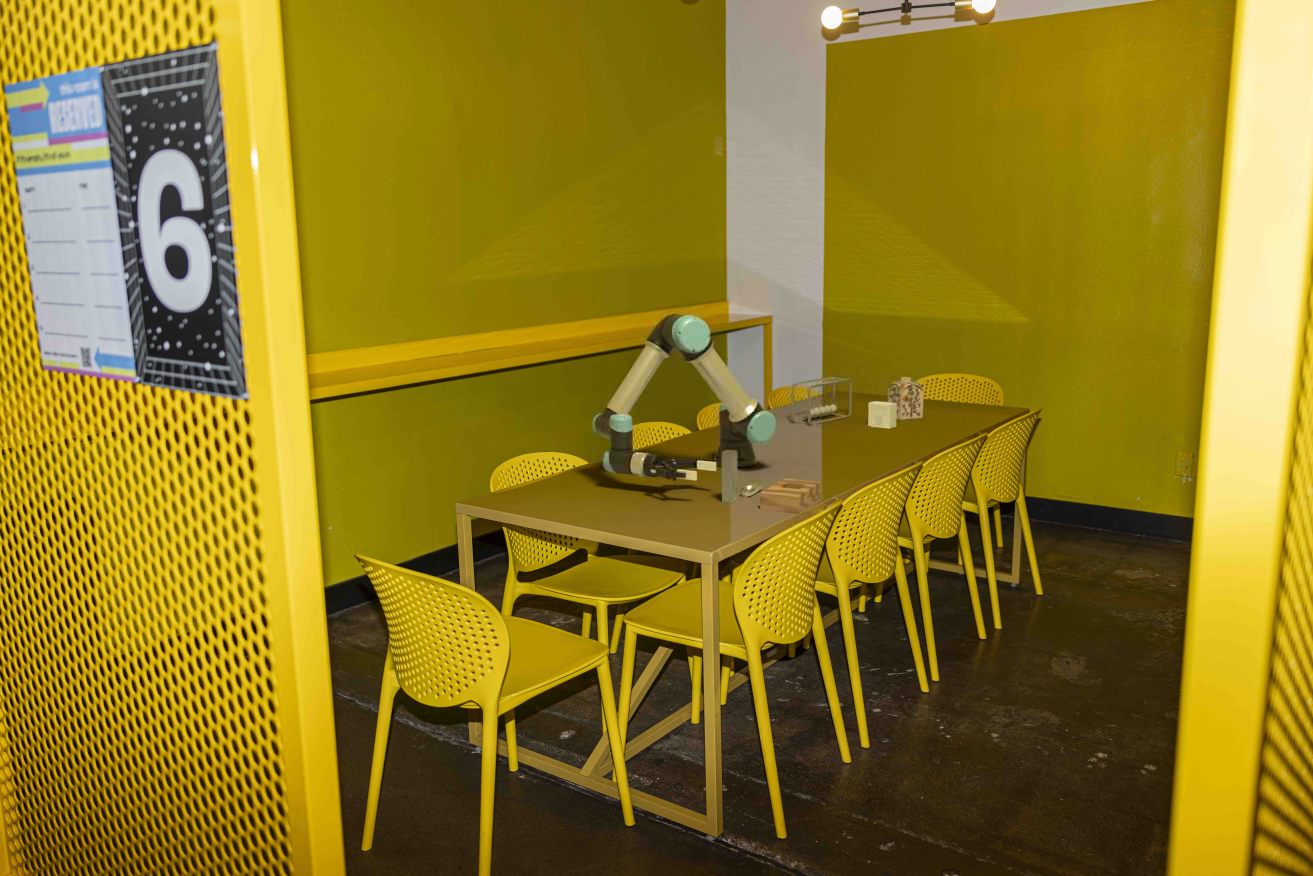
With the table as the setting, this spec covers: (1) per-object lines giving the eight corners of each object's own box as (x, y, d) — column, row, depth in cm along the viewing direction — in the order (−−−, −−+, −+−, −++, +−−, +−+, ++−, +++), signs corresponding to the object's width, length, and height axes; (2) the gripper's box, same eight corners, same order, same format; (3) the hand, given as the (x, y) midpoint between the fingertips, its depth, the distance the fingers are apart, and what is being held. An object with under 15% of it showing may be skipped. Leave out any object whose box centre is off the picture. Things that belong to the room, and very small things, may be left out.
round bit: (765, 487, 318) (757, 492, 320) (759, 477, 318) (751, 482, 320) (753, 494, 309) (744, 499, 311) (747, 484, 310) (738, 489, 312)
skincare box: (896, 426, 418) (897, 402, 416) (889, 429, 413) (890, 404, 411) (874, 424, 425) (875, 400, 423) (867, 426, 420) (868, 402, 418)
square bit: (727, 499, 308) (726, 449, 305) (737, 500, 307) (737, 450, 304) (722, 502, 305) (721, 452, 302) (732, 503, 304) (732, 453, 300)
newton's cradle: (809, 426, 424) (809, 385, 420) (790, 423, 431) (791, 383, 428) (852, 416, 443) (852, 378, 440) (833, 414, 451) (834, 375, 447)
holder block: (784, 493, 314) (785, 478, 313) (820, 497, 308) (820, 482, 307) (760, 508, 297) (760, 492, 296) (797, 513, 291) (797, 497, 290)
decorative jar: (886, 416, 443) (887, 376, 439) (909, 414, 446) (910, 375, 443) (900, 420, 432) (901, 380, 428) (923, 418, 435) (925, 378, 432)
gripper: (666, 468, 329) (723, 474, 319) (628, 484, 308) (687, 492, 298) (666, 446, 328) (723, 451, 318) (627, 461, 307) (687, 467, 296)
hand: (706, 471), depth 308 cm, fingers open, 13 cm apart
